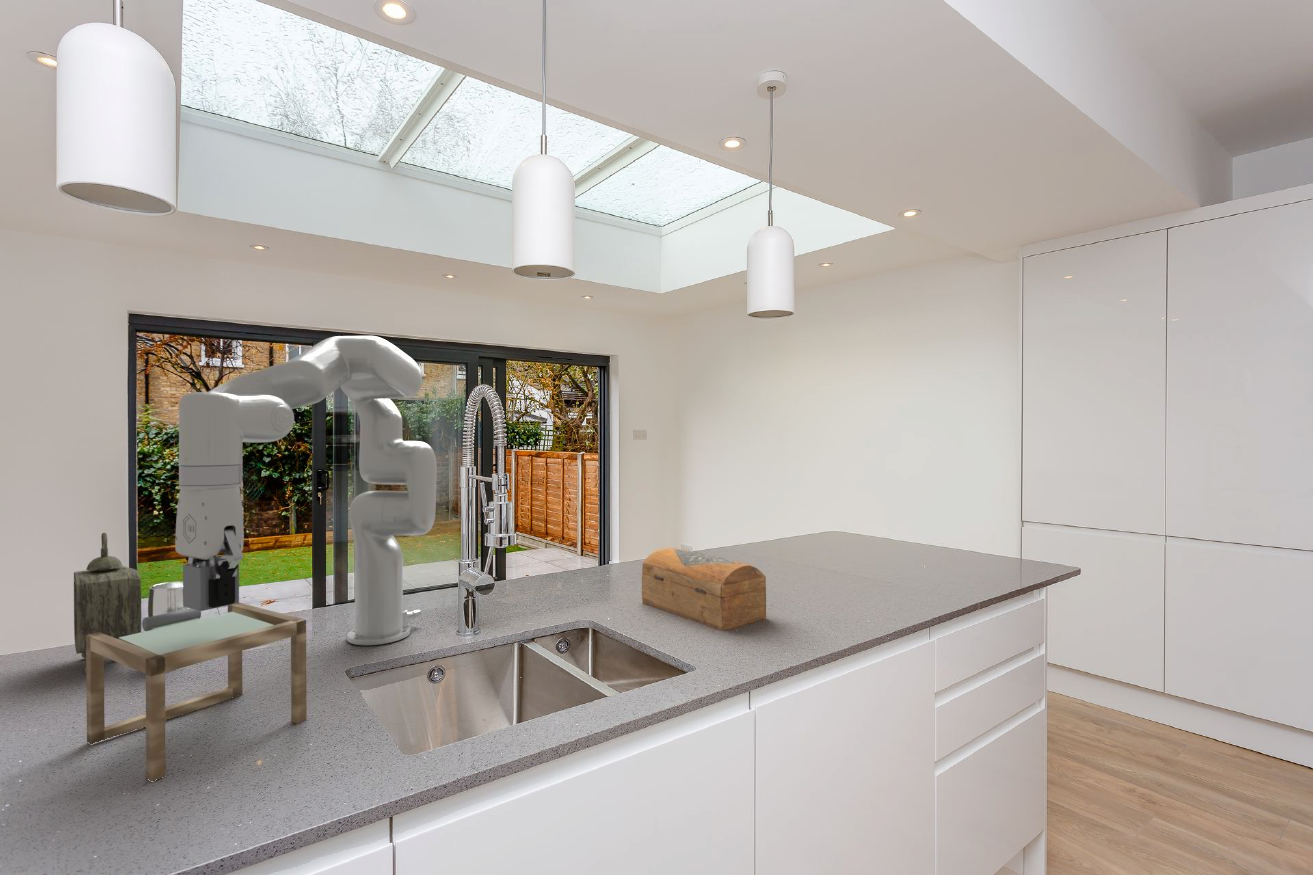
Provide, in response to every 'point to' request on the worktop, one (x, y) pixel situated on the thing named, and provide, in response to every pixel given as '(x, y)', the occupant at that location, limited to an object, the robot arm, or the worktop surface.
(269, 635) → the frame
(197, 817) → the worktop surface
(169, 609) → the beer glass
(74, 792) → the worktop surface
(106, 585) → the tabletop clock
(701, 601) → the wooden box
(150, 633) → the trapdoor
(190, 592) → the stone
